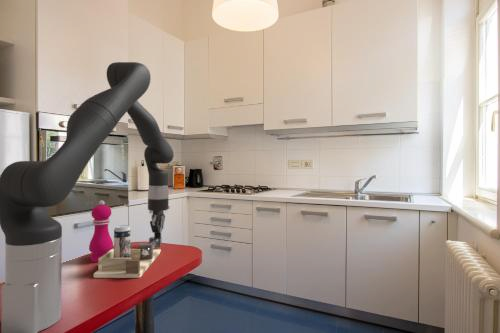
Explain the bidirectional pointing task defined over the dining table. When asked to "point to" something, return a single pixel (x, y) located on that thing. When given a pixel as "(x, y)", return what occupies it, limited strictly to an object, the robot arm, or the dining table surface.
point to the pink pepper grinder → (100, 232)
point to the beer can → (122, 241)
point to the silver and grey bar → (156, 243)
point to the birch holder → (126, 263)
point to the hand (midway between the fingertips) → (157, 242)
